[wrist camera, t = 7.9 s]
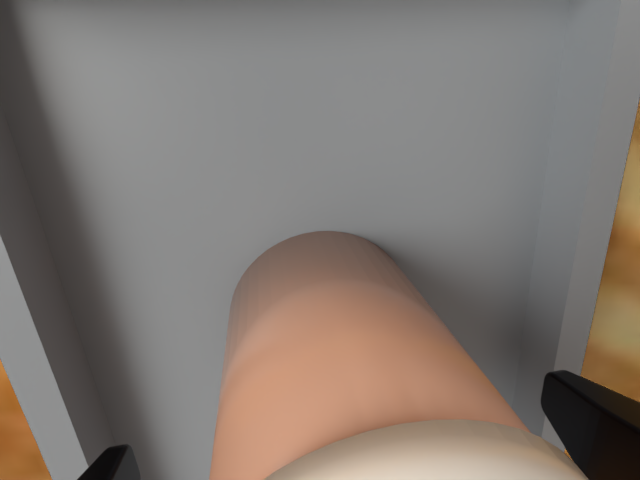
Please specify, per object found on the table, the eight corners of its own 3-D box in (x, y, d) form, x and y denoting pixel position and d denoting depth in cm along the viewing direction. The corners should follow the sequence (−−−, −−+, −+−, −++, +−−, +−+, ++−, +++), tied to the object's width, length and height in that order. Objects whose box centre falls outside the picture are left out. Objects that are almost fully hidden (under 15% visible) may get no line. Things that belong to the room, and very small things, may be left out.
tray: (599, -73, 10) (684, -114, 8) (513, 479, 17) (547, 530, 15) (-90, -59, 8) (-201, -107, 6) (134, 556, 16) (115, 626, 13)
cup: (417, 213, 12) (702, 435, 4) (412, 379, 14) (593, 716, 6) (207, 236, 11) (101, 551, 3) (237, 406, 13) (212, 822, 6)
